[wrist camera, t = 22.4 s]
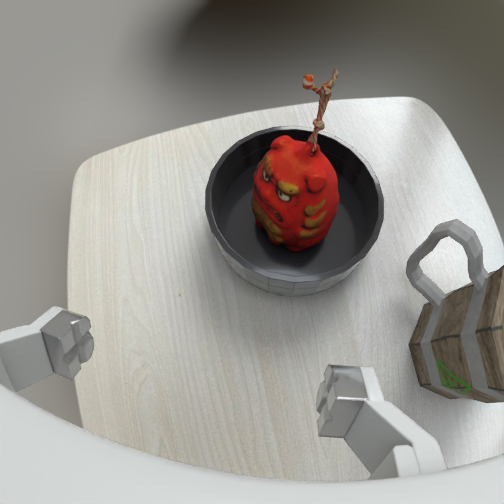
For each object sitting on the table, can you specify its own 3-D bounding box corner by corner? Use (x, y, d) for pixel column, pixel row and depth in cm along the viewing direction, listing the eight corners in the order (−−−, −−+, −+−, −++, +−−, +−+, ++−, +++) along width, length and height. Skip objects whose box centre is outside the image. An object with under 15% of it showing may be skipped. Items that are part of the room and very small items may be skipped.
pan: (198, 279, 27) (183, 262, 22) (234, 149, 32) (229, 118, 27) (360, 308, 25) (379, 296, 21) (369, 171, 30) (382, 141, 25)
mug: (505, 341, 22) (585, 321, 11) (447, 421, 21) (530, 439, 9) (423, 233, 27) (486, 167, 16) (352, 303, 25) (409, 260, 14)
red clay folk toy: (237, 210, 28) (209, 82, 14) (293, 170, 29) (303, 40, 15) (291, 270, 26) (313, 166, 12) (348, 223, 27) (404, 104, 13)
